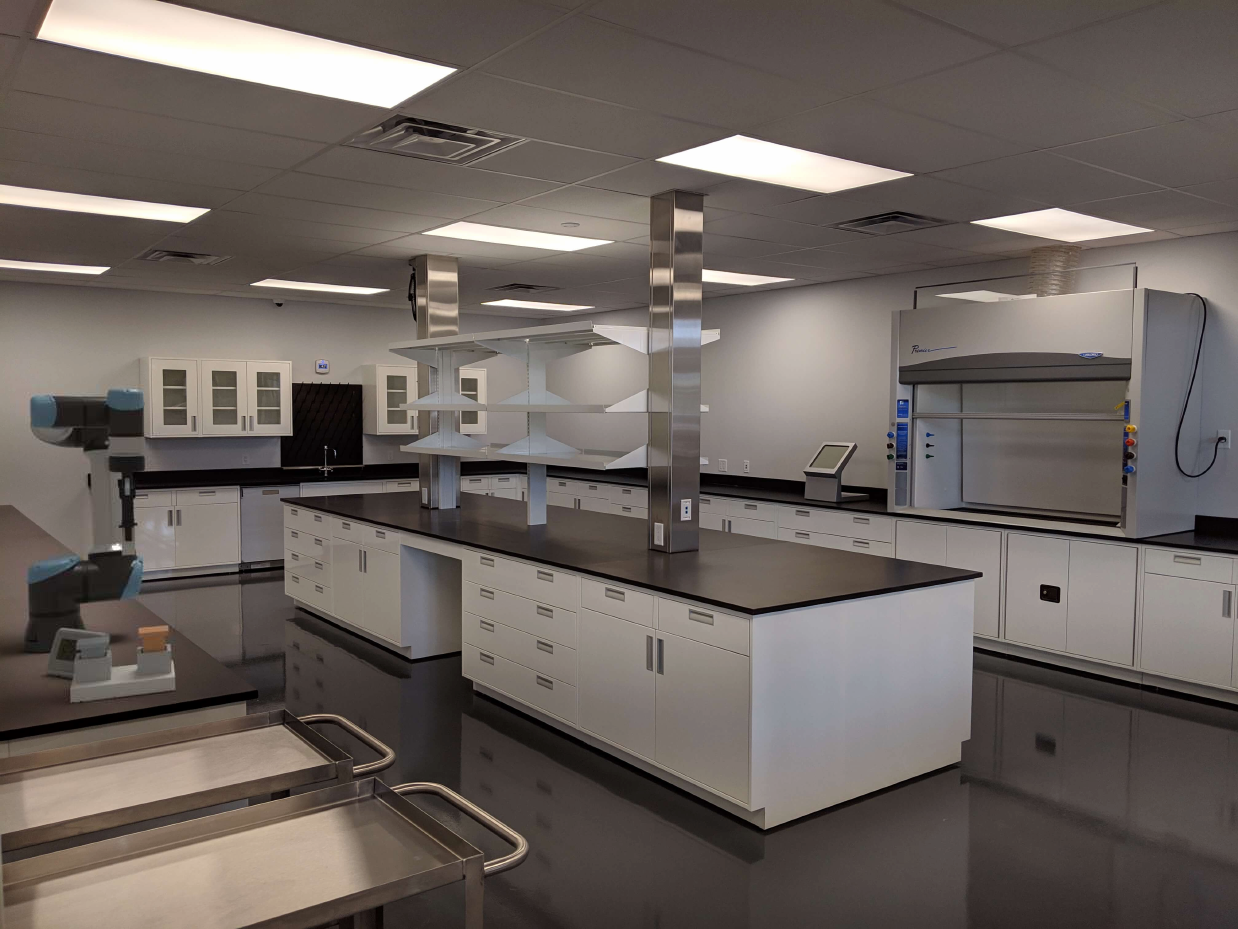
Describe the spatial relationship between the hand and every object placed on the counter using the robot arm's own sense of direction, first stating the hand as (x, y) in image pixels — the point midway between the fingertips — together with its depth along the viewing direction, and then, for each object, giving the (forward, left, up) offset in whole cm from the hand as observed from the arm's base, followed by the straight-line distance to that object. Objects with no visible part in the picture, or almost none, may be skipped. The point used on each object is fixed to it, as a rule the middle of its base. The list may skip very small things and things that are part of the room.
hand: (128, 554), depth 212 cm
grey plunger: (+12, -7, -25) cm, 29 cm away
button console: (+12, -1, -29) cm, 31 cm away
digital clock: (-3, -11, -29) cm, 31 cm away
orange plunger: (+12, +5, -24) cm, 27 cm away
